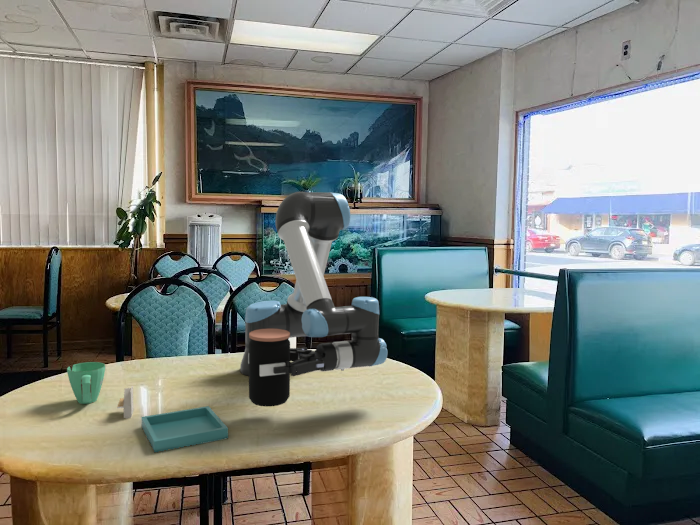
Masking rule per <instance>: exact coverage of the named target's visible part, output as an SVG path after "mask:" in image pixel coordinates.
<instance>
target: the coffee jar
mask: <svg viewBox="0 0 700 525" xmlns="http://www.w3.org/2000/svg"><path fill="white" fill-rule="evenodd" d="M289 337H290V332H289V331H286V330H282V329H259V330H254V331H251V332H250V333H249V338H250V339H251V340H250V342H249V376H248V398H249V400H250V402H251V403H252V404H253V405H256V406H259V407H266V408H267V407H276V406H277V407H278V406H280V405H281V406H282V405H283V404H286V402H288V399H289V398H290V396H291V395H290V393H291V392H290V391H291V389H290V387H291V383H290V382H291V374H286V373H285V374H278V375H269V376H261V377H260V365H266V364H275V363H284V362H285V366H286V361H287V362H288V361H289V362H291V361H290V348H291V341H290V340H289V339H290V338H289Z"/></svg>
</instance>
